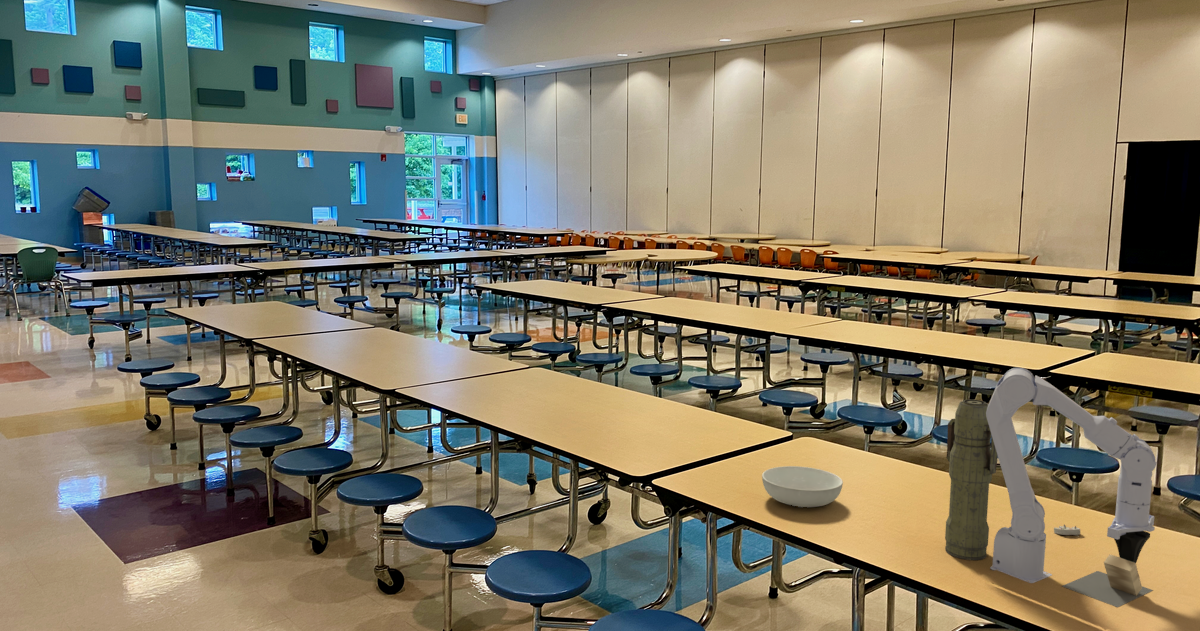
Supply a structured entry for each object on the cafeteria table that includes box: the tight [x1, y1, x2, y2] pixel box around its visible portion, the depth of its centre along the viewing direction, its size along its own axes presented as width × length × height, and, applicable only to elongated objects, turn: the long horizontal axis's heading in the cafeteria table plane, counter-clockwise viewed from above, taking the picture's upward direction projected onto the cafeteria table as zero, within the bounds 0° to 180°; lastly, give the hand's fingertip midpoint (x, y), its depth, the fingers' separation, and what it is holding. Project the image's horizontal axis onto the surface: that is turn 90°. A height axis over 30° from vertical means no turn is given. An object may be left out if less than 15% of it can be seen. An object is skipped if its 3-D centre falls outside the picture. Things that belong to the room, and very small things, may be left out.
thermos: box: [944, 399, 998, 561], centre depth 190 cm, size 9×12×35 cm
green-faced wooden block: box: [1103, 554, 1143, 596], centre depth 170 cm, size 5×3×7 cm, turn 32°
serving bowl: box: [761, 465, 844, 508], centre depth 225 cm, size 21×21×7 cm
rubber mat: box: [1061, 570, 1154, 608], centre depth 173 cm, size 11×14×1 cm
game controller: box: [1053, 524, 1081, 536], centre depth 201 cm, size 6×12×3 cm, turn 23°
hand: (1127, 565), depth 171 cm, fingers closed
